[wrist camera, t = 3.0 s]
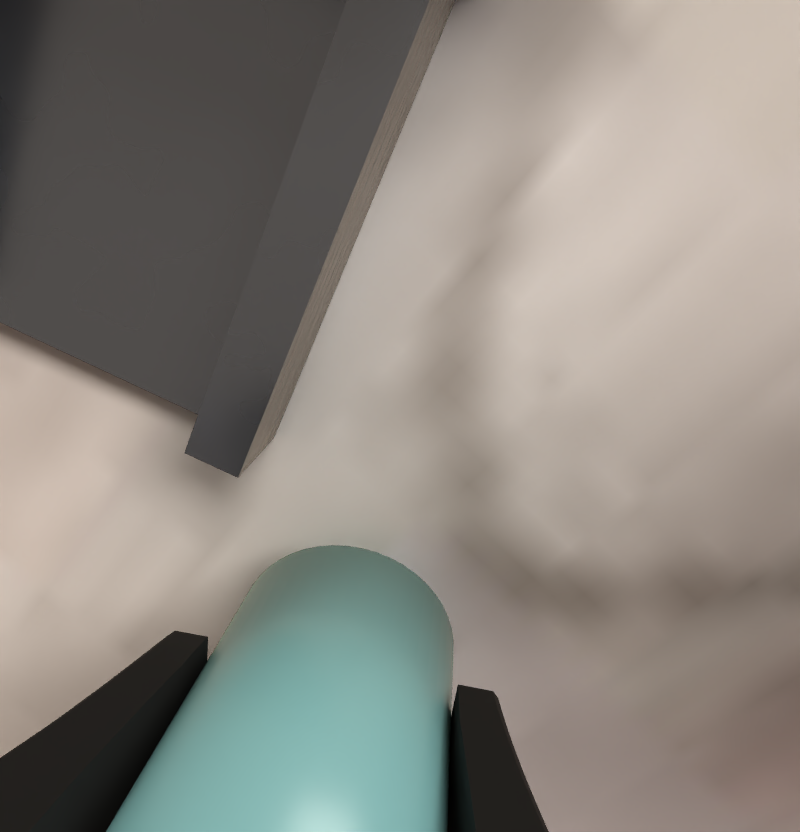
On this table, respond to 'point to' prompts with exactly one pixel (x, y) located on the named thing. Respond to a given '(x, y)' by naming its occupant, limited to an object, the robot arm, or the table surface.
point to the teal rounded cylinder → (312, 709)
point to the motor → (196, 186)
